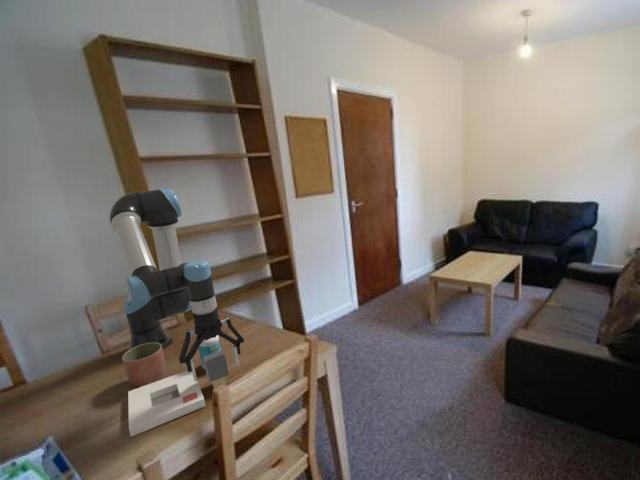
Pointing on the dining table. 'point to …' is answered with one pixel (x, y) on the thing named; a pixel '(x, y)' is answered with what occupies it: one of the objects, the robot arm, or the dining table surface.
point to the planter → (144, 364)
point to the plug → (216, 368)
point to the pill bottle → (209, 348)
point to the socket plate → (163, 401)
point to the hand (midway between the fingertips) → (216, 371)
